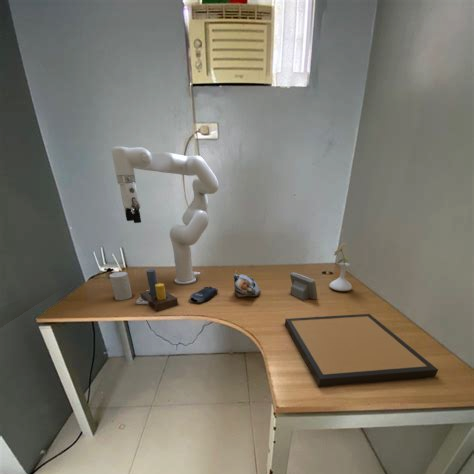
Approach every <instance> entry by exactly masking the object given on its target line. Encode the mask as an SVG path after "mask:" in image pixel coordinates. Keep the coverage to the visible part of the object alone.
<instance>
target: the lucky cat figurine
mask: <svg viewBox="0 0 474 474" xmlns="http://www.w3.org/2000/svg"><path fill="white" fill-rule="evenodd" d="M233 279H234V280H233V283H234V284H233V286H234V294H235V295H236V296H237V297H238V298H241V297H259V295H260V294H261V292H262V291H261V289H260V288H259V286H258V284H257V282H256V281H255V280H254V277H252V276H250V277H249V276H248V275H246V274H239V275H238V273H236V272H235V273H233Z"/></svg>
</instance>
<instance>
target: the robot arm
mask: <svg viewBox="0 0 474 474" xmlns="http://www.w3.org/2000/svg"><path fill="white" fill-rule="evenodd" d="M110 151H111V156H112V157H111V158H112V161H113V166H114V172H115V177H116V182H117V185H119V189H120V195H121V202H122V206H123V208H124V213H125V214H124V215H125V218H126V221H127V222H132V221H133V223H134V224H140V223H142V218H141V211H140V208H141V202H140V197H139V192H138V189H137V185H136V183H137V182H136V176H135V170H141V171H142V170H143V171H149V172H159V173H165V174H172V175H173V174H174V175H181V176H189V177H192V176H194V178H193V180H192V183H191V185H192V186H191V187H192V191H193V199H192V200H191V202H190V204H189V205H188V207H187V209H186V210H185V212H184V213H183V215H182V217H181V220H182V223H183V224H174V225H173V226H172V227H171V228H170V230H169V238H170V242H171V245H172V251H173V257H174V266H175V274H176V277H175V278H174V283H175V284H177V285H190V284H193V283H195V282H197V276H201V272H200V271H198V272H197V271H194V270H193V261H192V250H191V246H193V245H195V244H196V243H197V242H198V241H199V239H200V238H201V237H202V235H203V233H204V232H205V231H206V230H207V227H208V226H209V220H210V219H209V215H208V213H207V212H206V211H207V209H208V205H209V200H208V195H213V194H215V193H217V192H218V190H219V186H220V185H219V181H218V178H217V177H216V174H215V173H214V171H212V169H211V167H210V166H209V164H208V163H207V162H206V160H205V159H204V158H203V157H202V156H200V155H191V156H190V155H183V154H179V153H174V152H170V151H169V152H168V151H163V152H150V151H149V150H148V149H147V148H144V147H142V146H138V147H127V146H121V145H119V146H118V145H117V146H112V147H111V150H110ZM195 176H196V177H195Z"/></svg>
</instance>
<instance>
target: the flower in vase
mask: <svg viewBox="0 0 474 474" xmlns="http://www.w3.org/2000/svg"><path fill="white" fill-rule="evenodd" d="M346 245H347V243H346V242H343V243H341V245H340V246H338V247H337V249H336V250H335V251H334V254H333V256H338V255H339V254H340V253H342V258H341V259H339V260H338V261H337V264H339V266H340V275H339V276H338V278H336V279H334V280H333V281H331V282H330V283H329V288H330V289H332V290H334V291H336V292H337V291H338V292H348V291H351V290H352V289H353V286H352V284H351V283H350V282H349V281H348V280H347V278H346V272H347V269H348V268H349V267H350V265H351V264H350V263H349V256H348V255H346V256H345V255H344V251H343V250H344V248H345V247H346Z"/></svg>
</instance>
